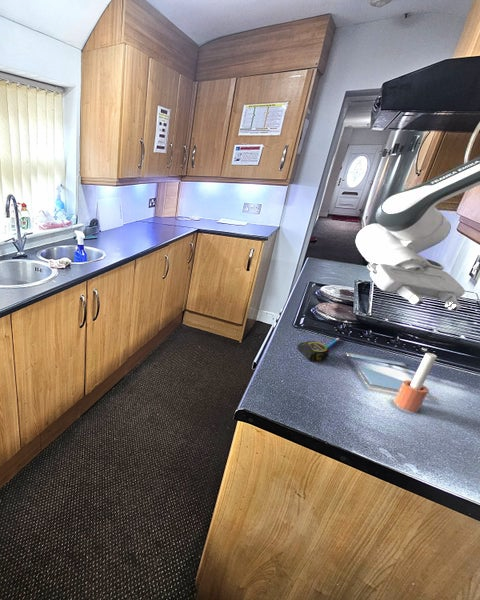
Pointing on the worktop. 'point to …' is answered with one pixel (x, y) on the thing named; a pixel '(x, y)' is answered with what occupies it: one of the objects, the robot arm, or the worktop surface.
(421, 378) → the stylus
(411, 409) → the pen pot
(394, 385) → the tablet
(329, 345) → the pencil
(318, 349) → the tape measure
